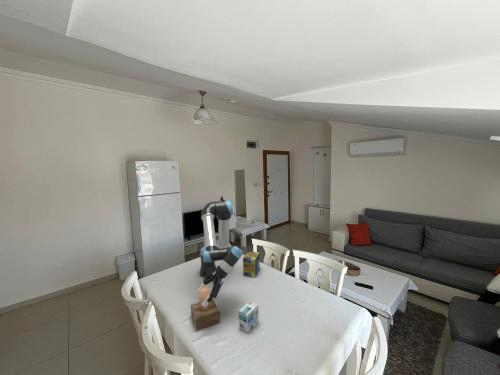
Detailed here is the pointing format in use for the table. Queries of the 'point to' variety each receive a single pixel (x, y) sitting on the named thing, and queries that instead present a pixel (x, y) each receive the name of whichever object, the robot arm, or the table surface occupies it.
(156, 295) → the table surface
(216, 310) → the walnut box
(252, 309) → the light bulb box
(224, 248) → the robot arm
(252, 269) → the protein box
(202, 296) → the terracotta canister
